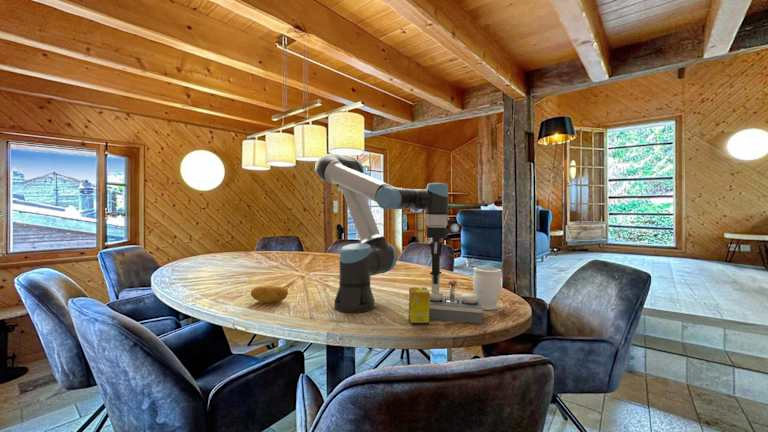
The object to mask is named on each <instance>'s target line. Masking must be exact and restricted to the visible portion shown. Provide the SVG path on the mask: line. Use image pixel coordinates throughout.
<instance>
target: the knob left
mask: <svg viewBox="0 0 768 432" xmlns="http://www.w3.org/2000/svg"><path fill="white" fill-rule="evenodd" d="M428 291H429V292H430V301H432V302H440V300H442V299H443V296H444V292H442V291H440V290H439V293H433V292H431V290H428Z"/></svg>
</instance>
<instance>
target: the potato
mask: <svg viewBox="0 0 768 432" xmlns="http://www.w3.org/2000/svg"><path fill="white" fill-rule="evenodd" d="M250 295H251V297H252V299H254V300H256V301H257V302H261V303H263V304H276V303H277V304H279V303H280V302H282V301H284V300H285V299H286V298H287V297H288V295H289V291H288V289H287V288H286V287H283V286H277V285H262V286H260V285H259V286H256V287H254V288H252V290H251V292H250Z"/></svg>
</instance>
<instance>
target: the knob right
mask: <svg viewBox="0 0 768 432" xmlns="http://www.w3.org/2000/svg"><path fill="white" fill-rule="evenodd" d="M460 297H461V301H462V302H464V304H470V305H475V303H477V302H478V295H476V294H474V293H471V292H470V293H469V292H466V293H464V292H463V293H462V294H461V295H460Z"/></svg>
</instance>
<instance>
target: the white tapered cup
mask: <svg viewBox="0 0 768 432" xmlns="http://www.w3.org/2000/svg"><path fill="white" fill-rule="evenodd" d="M472 270H473V273H474V274H473V279H472V288H473V294H476V295H478V299H480V301H481V304H482V308H483V311H486V310H487V311H495V310H497V309H498V305H497V304H498V302H499V299H500V294H501V288H502V279H501V273H502V269H500V268H497V267H494V266H493V267H492V266H483V265H482V266H480V265H479V266H474V267H473V269H472Z"/></svg>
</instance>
